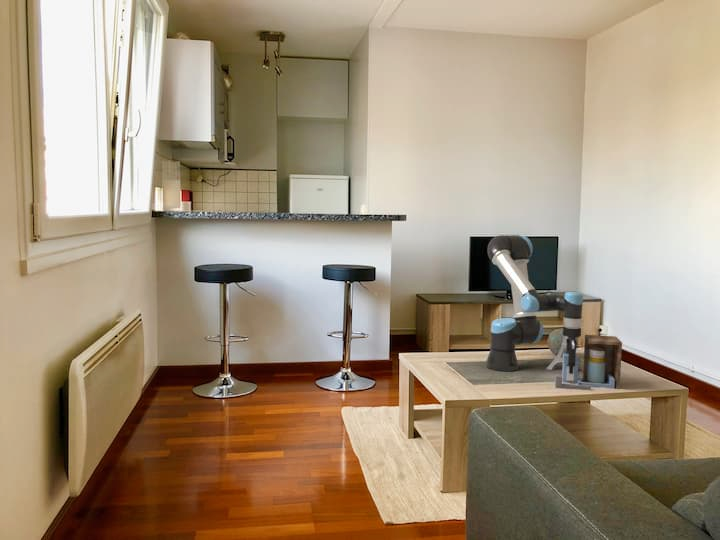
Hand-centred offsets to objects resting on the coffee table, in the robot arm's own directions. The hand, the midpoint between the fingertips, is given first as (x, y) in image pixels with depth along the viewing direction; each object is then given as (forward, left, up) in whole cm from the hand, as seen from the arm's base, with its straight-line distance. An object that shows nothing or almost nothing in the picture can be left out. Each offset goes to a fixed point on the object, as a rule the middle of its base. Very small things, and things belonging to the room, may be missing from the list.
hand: (569, 378), depth 261 cm
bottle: (+11, 0, -1) cm, 11 cm away
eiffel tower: (+1, +22, -2) cm, 23 cm away
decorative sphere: (+2, +48, -1) cm, 49 cm away
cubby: (+13, 0, -1) cm, 13 cm away
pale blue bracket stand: (+7, -1, -1) cm, 7 cm away
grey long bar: (0, -11, -1) cm, 11 cm away
